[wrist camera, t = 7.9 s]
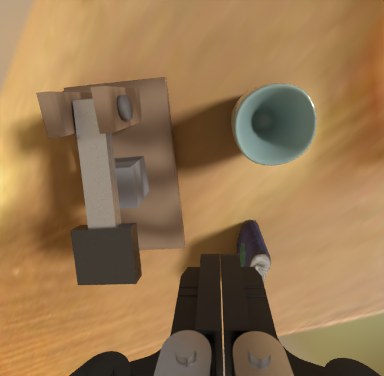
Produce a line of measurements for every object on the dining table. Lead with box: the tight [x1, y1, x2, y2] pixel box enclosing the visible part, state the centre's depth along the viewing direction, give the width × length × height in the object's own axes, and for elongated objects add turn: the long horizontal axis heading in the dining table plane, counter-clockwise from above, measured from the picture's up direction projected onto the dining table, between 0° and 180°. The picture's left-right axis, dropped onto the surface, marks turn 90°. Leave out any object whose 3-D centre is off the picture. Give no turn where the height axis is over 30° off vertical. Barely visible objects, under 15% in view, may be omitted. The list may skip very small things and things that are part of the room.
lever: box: [71, 99, 142, 285], centre depth 28 cm, size 19×6×2 cm, turn 5°
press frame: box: [36, 77, 185, 250], centre depth 33 cm, size 24×13×12 cm, turn 5°
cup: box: [231, 83, 317, 166], centre depth 30 cm, size 8×8×10 cm
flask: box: [237, 220, 271, 283], centre depth 36 cm, size 9×3×11 cm, turn 176°
